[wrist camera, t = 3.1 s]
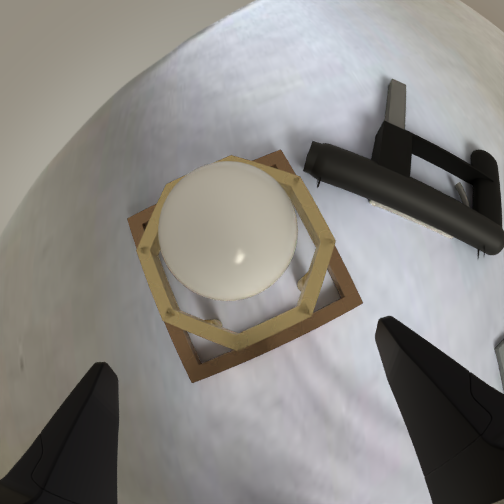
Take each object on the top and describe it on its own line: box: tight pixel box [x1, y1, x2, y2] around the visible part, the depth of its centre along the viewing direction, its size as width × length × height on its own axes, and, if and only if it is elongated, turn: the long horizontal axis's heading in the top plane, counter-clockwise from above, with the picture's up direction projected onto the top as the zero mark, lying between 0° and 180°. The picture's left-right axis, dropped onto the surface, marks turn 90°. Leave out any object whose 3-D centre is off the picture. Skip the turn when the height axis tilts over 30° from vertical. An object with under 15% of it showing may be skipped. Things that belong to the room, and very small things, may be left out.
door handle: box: [303, 79, 504, 257], centre depth 22 cm, size 3×20×16 cm
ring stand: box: [127, 150, 363, 383], centre depth 19 cm, size 13×13×5 cm
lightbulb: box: [158, 161, 298, 301], centre depth 16 cm, size 6×6×11 cm
